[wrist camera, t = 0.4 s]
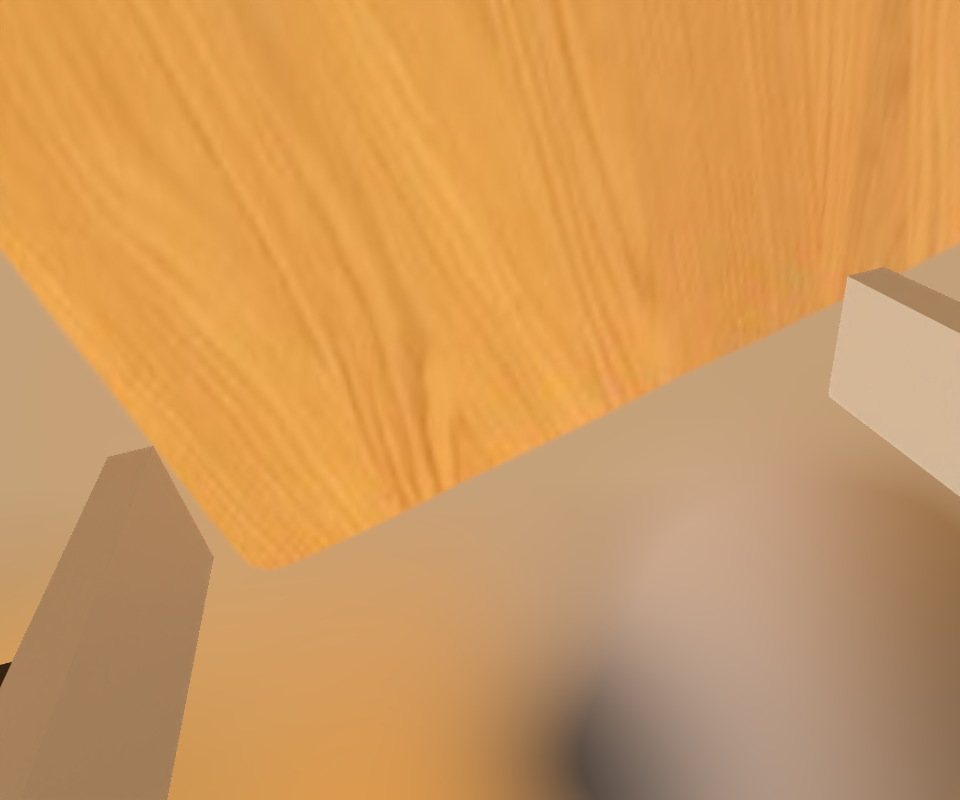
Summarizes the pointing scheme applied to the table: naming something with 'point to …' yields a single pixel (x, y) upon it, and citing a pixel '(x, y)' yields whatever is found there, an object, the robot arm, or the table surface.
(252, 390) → the table surface
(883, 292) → the robot arm
